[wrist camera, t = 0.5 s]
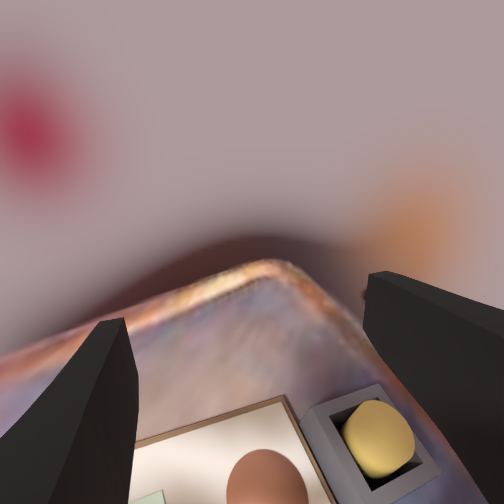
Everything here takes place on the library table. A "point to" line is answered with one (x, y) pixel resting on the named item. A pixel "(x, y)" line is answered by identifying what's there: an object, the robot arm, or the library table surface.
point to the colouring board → (230, 462)
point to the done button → (378, 439)
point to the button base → (341, 462)
